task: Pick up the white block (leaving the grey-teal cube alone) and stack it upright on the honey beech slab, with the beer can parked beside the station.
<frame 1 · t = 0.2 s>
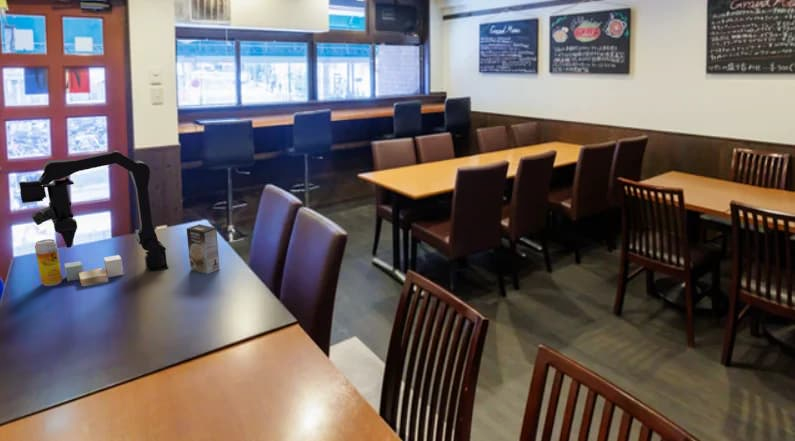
hand: (67, 243, 181), 14 cm above the table, fingers open, 9 cm apart
coffee box: (205, 270, 198), on the table
white block: (114, 273, 193), on the table
teal grey cube: (75, 277, 190), on the table
beech slab: (94, 281, 187), on the table
beer can: (52, 283, 184), on the table
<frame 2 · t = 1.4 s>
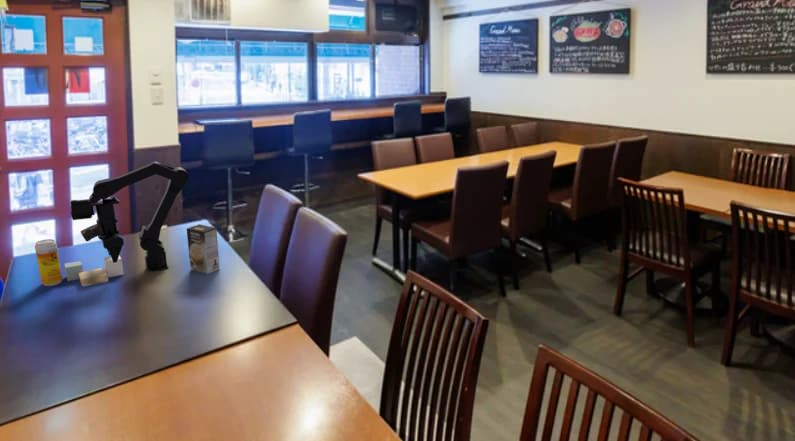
hand: (113, 258, 192), 6 cm above the table, fingers open, 9 cm apart
nothing on the table moved.
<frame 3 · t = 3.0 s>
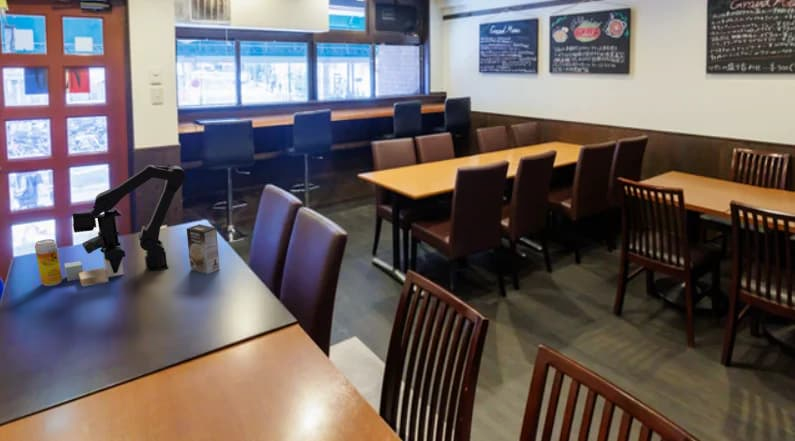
hand: (114, 270, 193), 1 cm above the table, fingers closed on white block, 5 cm apart
white block: (114, 273, 193), on the table, touching gripper
everything else where it was.
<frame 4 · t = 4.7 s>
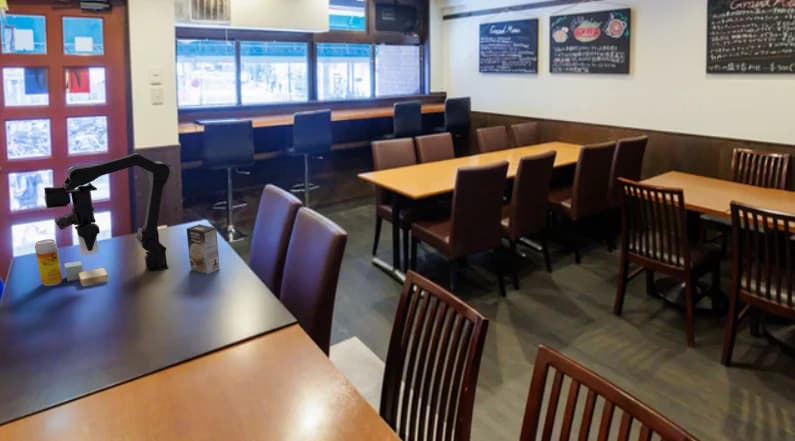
hand: (89, 248, 184), 12 cm above the table, fingers closed on white block, 5 cm apart
white block: (89, 252, 185), point 10 cm above the table, touching gripper
everything else where it was.
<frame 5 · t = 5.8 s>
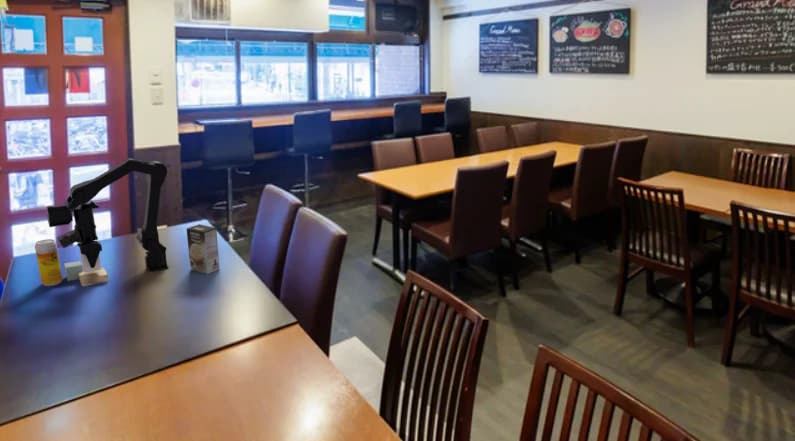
hand: (91, 265, 186), 5 cm above the table, fingers closed on white block, 5 cm apart
white block: (92, 268, 186), point 4 cm above the table, touching gripper
everything else where it was.
when the fingers open (5 cm above the table, at t = 6.5 s): white block drops 2 cm, point 2 cm above the table.
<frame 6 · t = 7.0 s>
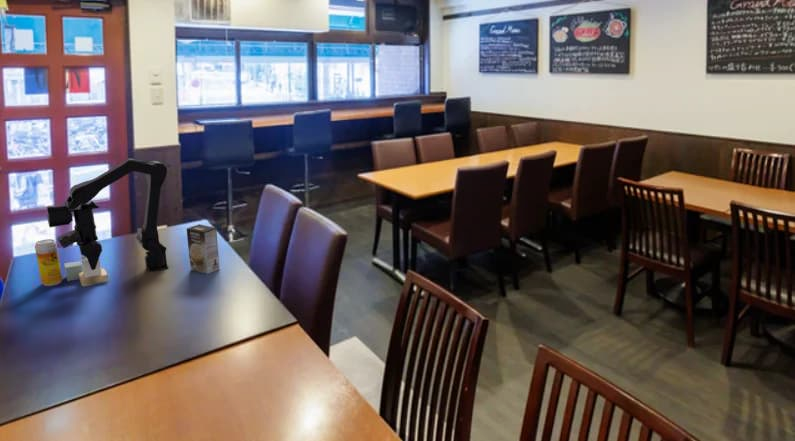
hand: (91, 265, 186), 5 cm above the table, fingers open, 9 cm apart
white block: (92, 273, 186), point 2 cm above the table
everything else where it was.
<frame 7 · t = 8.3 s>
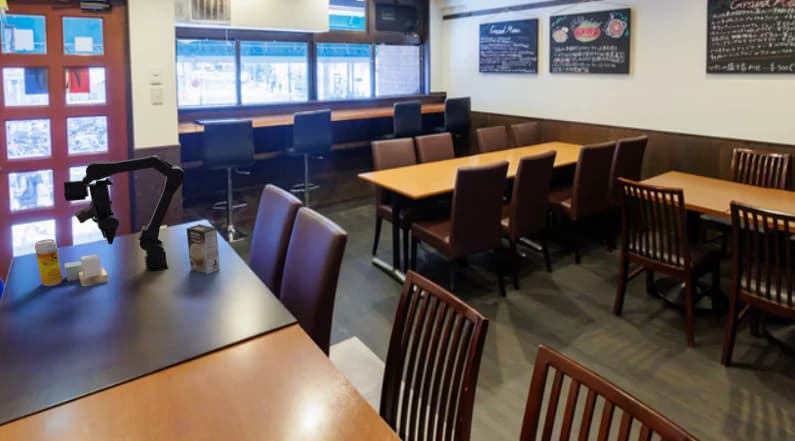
hand: (108, 241, 190), 12 cm above the table, fingers open, 9 cm apart
white block: (92, 273, 186), point 2 cm above the table, touching beech slab
beech slab: (94, 281, 187), on the table, touching white block
everything else where it was.
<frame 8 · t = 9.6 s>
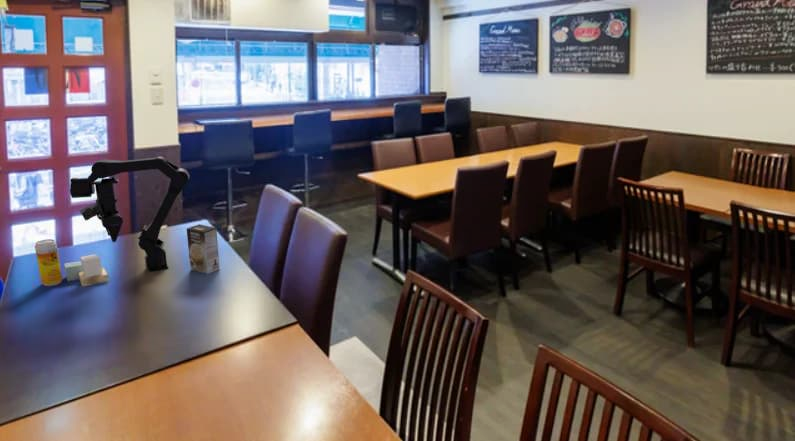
hand: (112, 238, 192), 13 cm above the table, fingers open, 9 cm apart
nothing on the table moved.
at the end: white block 0.4 cm off-centre on the beech slab, point 3.0 cm above the beech slab's base; white block tilted 0°; the gripper is holding nothing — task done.
